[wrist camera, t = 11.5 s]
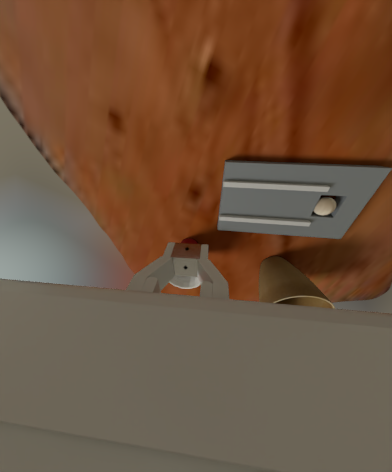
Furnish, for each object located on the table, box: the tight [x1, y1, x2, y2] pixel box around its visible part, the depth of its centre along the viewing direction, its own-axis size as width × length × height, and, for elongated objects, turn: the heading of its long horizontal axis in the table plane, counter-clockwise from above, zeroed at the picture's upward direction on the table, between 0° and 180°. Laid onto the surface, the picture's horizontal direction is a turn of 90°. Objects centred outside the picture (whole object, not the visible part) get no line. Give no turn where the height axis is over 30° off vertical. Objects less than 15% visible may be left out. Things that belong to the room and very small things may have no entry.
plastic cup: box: [169, 238, 201, 289], centre depth 41 cm, size 11×11×12 cm
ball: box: [313, 197, 336, 215], centre depth 32 cm, size 4×4×4 cm
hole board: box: [218, 160, 392, 239], centre depth 33 cm, size 16×30×4 cm, turn 89°
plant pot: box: [259, 256, 335, 309], centre depth 40 cm, size 15×15×16 cm
